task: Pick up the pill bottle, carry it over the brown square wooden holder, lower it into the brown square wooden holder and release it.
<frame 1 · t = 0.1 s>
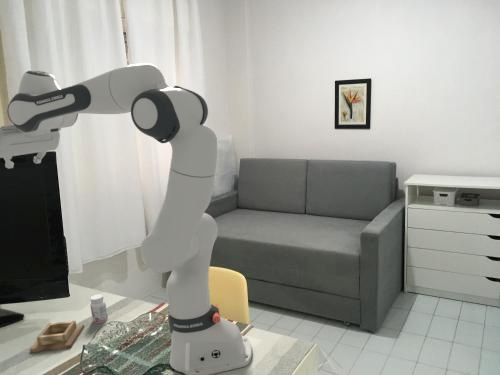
hand: (23, 165, 128), 54 cm above the table, tool tilted 30°, fingers open, 8 cm apart
pill bottle: (100, 320, 140), on the table
brown square wooden holder: (58, 339, 130), on the table
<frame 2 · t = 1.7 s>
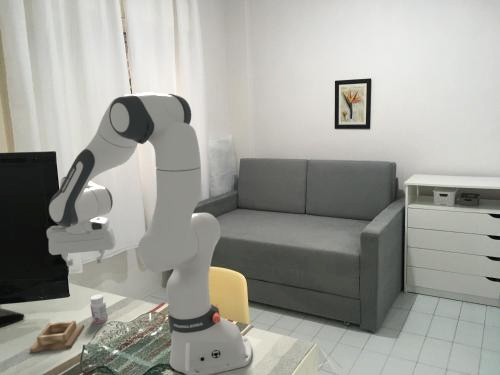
hand: (85, 264, 137), 20 cm above the table, tool pointing down, fingers open, 8 cm apart
nothing on the table moved.
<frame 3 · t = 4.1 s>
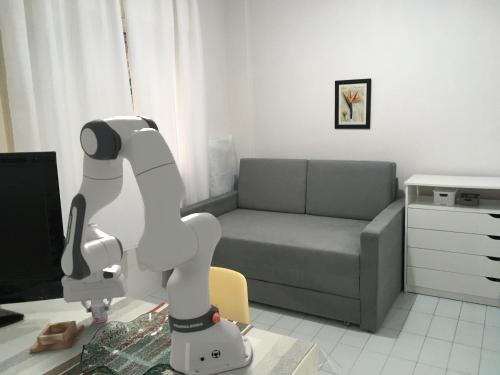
hand: (99, 310, 140), 3 cm above the table, tool pointing down, fingers closed on pill bottle, 5 cm apart
pill bottle: (100, 320, 140), on the table, touching gripper
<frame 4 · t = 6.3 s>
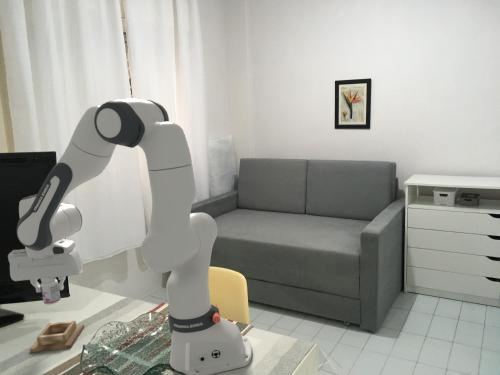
hand: (50, 290, 127), 16 cm above the table, tool pointing down, fingers closed on pill bottle, 5 cm apart
pill bottle: (52, 302, 128), point 12 cm above the table, touching gripper
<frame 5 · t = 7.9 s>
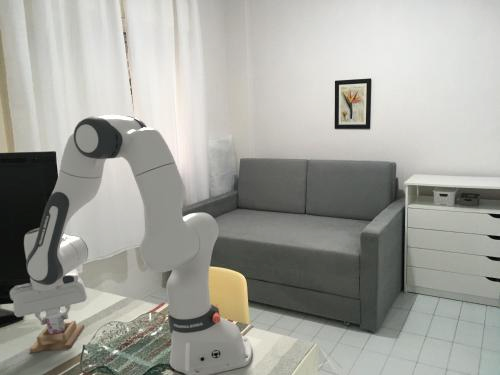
hand: (55, 321, 129), 6 cm above the table, tool pointing down, fingers closed on pill bottle, 5 cm apart
pill bottle: (57, 332, 130), point 2 cm above the table, touching gripper
when the fingers open (5 cm above the table, at t = 8.6 s): pill bottle stays where it is, resting on brown square wooden holder.
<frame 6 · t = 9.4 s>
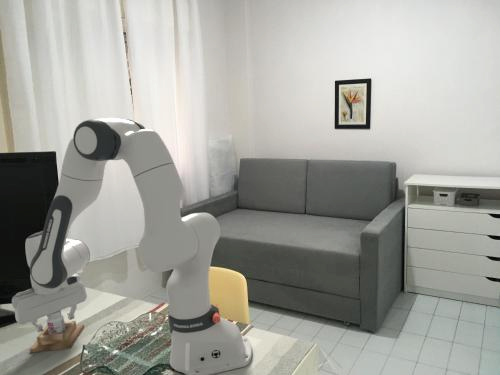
hand: (56, 324, 129), 5 cm above the table, tool pointing down, fingers open, 8 cm apart
pill bottle: (58, 336, 130), point 1 cm above the table, touching brown square wooden holder
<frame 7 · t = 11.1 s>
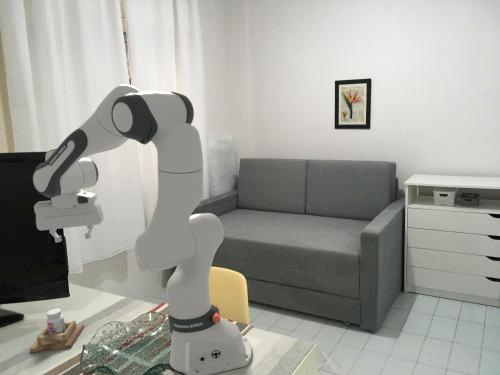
hand: (73, 240, 136), 28 cm above the table, tool pointing down, fingers open, 8 cm apart
nothing on the table moved.
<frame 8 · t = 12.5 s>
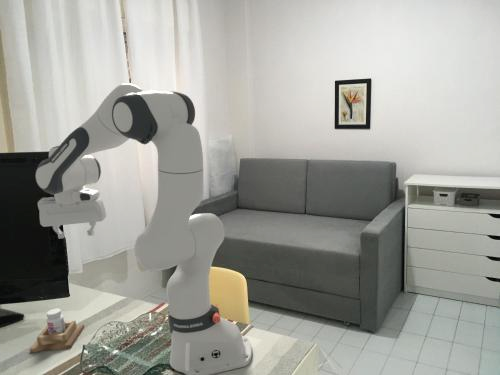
hand: (76, 236, 137), 29 cm above the table, tool pointing down, fingers open, 8 cm apart
nothing on the table moved.
at the end: pill bottle 0.1 cm off-centre on the brown square wooden holder, point 0.8 cm above the brown square wooden holder's base; pill bottle tilted 0°; the gripper is holding nothing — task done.
